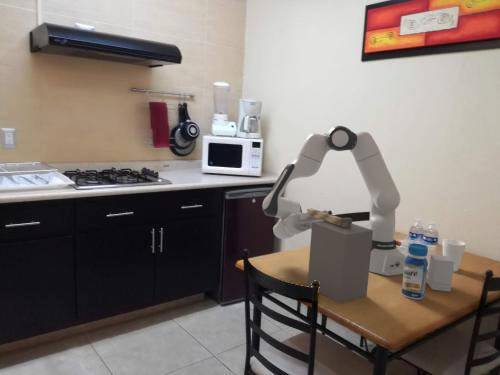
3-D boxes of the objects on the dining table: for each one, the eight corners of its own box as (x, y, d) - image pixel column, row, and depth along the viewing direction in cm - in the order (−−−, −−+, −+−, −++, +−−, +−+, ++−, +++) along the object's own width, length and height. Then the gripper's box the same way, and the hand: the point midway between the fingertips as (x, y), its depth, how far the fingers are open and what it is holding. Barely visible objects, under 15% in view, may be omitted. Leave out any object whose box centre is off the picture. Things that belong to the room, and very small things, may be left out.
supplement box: (450, 292, 156) (454, 261, 154) (430, 289, 158) (434, 259, 156) (445, 284, 164) (449, 255, 161) (426, 282, 165) (430, 253, 163)
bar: (305, 214, 163) (306, 207, 163) (312, 213, 165) (313, 206, 165) (343, 228, 145) (344, 219, 144) (351, 226, 147) (352, 218, 146)
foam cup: (464, 269, 182) (468, 242, 180) (458, 274, 176) (462, 246, 173) (442, 263, 189) (446, 237, 186) (436, 268, 182) (439, 241, 180)
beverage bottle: (429, 299, 149) (435, 248, 145) (410, 301, 146) (416, 250, 143) (414, 289, 157) (420, 241, 153) (396, 291, 154) (401, 242, 151)
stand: (307, 285, 157) (312, 222, 152) (333, 279, 164) (338, 218, 160) (339, 303, 142) (345, 234, 137) (366, 296, 149) (373, 230, 145)
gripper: (277, 218, 166) (295, 208, 155) (314, 213, 177) (333, 204, 166) (280, 232, 165) (300, 223, 153) (317, 227, 175) (338, 218, 164)
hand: (317, 213), depth 160 cm, fingers open, 8 cm apart
